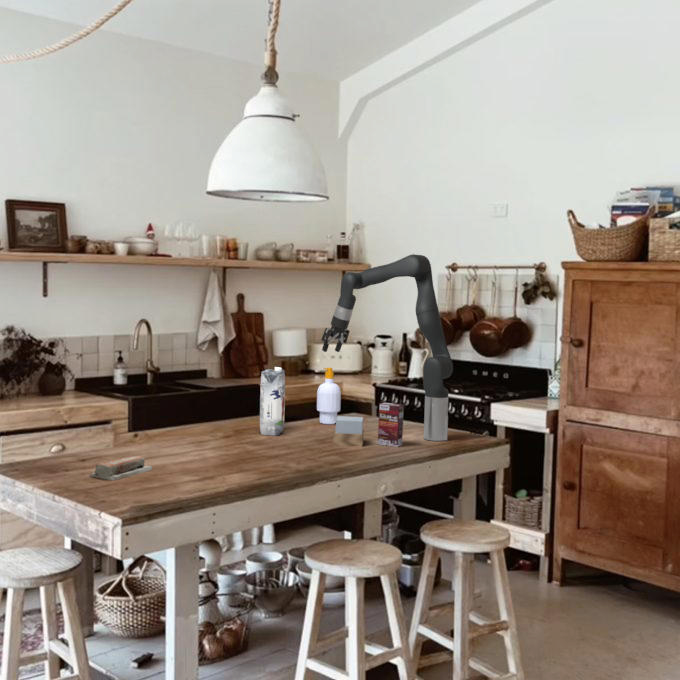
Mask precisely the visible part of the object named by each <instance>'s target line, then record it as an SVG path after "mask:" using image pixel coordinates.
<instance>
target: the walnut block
mask: <svg viewBox="0 0 680 680" xmlns="http://www.w3.org/2000/svg"><path fill="white" fill-rule="evenodd" d="M332 443H333V444H332V446H333V445H339V446H338V447H353V446H362V445H363V444H364V429H363V432H362V434H340V433H336V428H335V429H334V432H333V441H332ZM363 446H364V445H363ZM363 446H362V447H363Z"/></svg>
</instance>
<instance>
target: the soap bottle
mask: <svg viewBox="0 0 680 680" xmlns="http://www.w3.org/2000/svg"><path fill="white" fill-rule="evenodd" d="M322 370H326V371H325V372H324V376H325V377H324V382H323V383H321V384H320V385H318V388H317V392H316V410H317V411H318V412H319V423H320V424H321V423H322V424H321V425H336V424H335V423H336V419H337V417H338V413H339V412H341V402H342V401H341V399H342V395H341V394H342V392H341V388H340V386H339V385H338V384H337V383H334V371H333V368H332V367H323V369H322Z"/></svg>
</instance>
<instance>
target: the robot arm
mask: <svg viewBox="0 0 680 680" xmlns="http://www.w3.org/2000/svg"><path fill="white" fill-rule="evenodd" d="M402 277H410V278H414V279H415V283H416V287H417V288H416V289H417V297H416V302H415V303H416V304H415V316H416V320H417V325H418V328H419V330H420V332H421V333H422V335H423V336H424V338H425V339H426V341H427V343H428V345H429V346H430V351H431V353H432V354H431V355H432V356H430V357H428V358H427V359H426V360H425V361H424V363H423V369H422V375H423V377H422V378H423V379H422V380H423V382H422V383H423V385H422V386H423V390H424V418H423V420H424V421H423V439H424V440H427V441H432V442H433V441H435V442H436V441H437V442H439V441H440V442H441V441H448V429H449V427H448V425H449V415H448V413H449V389H448V388H445V386H444V380H445V379H448V378H450V377H451V376H452V374H453V371H454V364H453V361H452V357H451V354H450V351H449V349H448V344H447V343H446V341H447V340H446V337H445V332H444V329H443V325H442V321H441V320H442V319H441V314H440V311H439V307H438V303H437V297H436V292H435V288H434V281H433V272H432V264H431V262H430V259H429V258H428V257H427V256H425V255H422V254H414V253H413V254H409V255H406V256H405V257H402V258H400V259H398V260H396V261H393V262H390V263H387V264H382V265H378V266H374V267H370V268H366V269H364V270H363V271H361V272H351V271H348V272H346V273H345V274H344V275H343V277H342V278H341V282H340V292H339V294H340V296H339V299H338V301H337V305H336V307H335V308H334V312H333V314H332V317H331V322H330V325H331V328H328V327H325V328H324V331H323V334H322V337H321V339H320V340H321V341H322V342H323V344H322V349H321V351H322V352H324V353H326V352H327V351H328V349H329V345H330V343H331V342H333V341H334V340H337V343H336V346H335V349H334V350H335V352H337V353H340V352H341V349H342V346H343V345H344V344H347V341H348V339H349V338H348V337H349V335H350V333H351V332H350V330H349V329H348V327H349V324H350V321H351V318H352V315H353V310H354V308H355V304H356V301H357V297H356V295H354V290H360V289H365V288H367V287H369V286H374V285H377V284H382V283H386V282H387V281H389V280H392V279H394V278H402Z"/></svg>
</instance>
